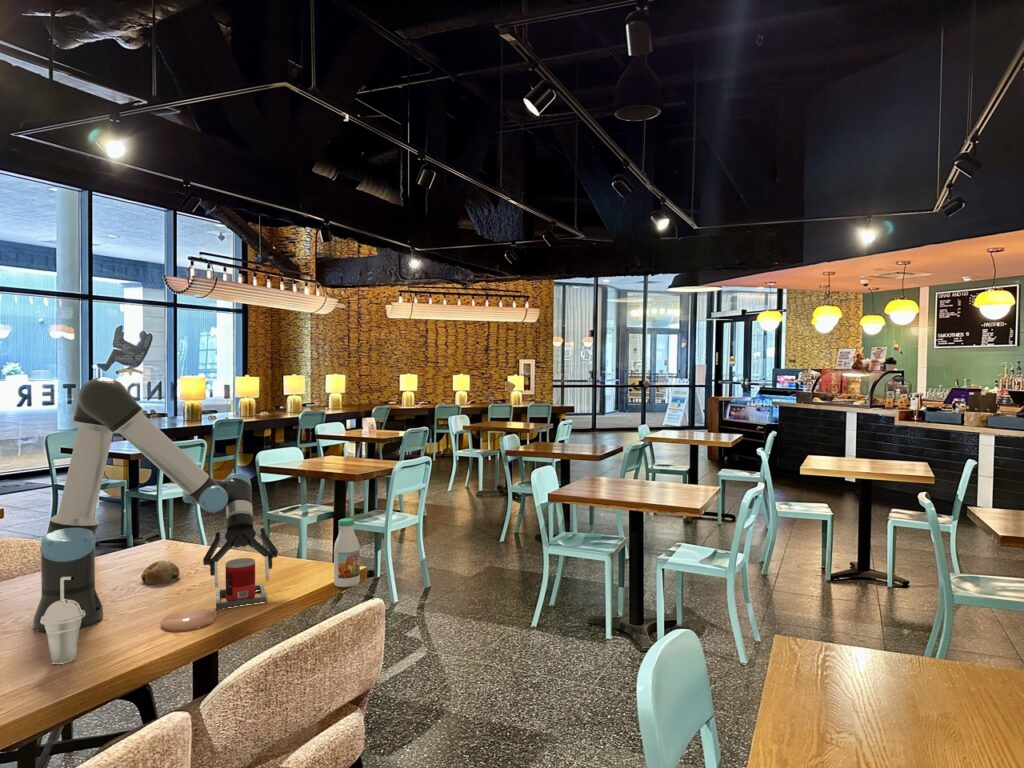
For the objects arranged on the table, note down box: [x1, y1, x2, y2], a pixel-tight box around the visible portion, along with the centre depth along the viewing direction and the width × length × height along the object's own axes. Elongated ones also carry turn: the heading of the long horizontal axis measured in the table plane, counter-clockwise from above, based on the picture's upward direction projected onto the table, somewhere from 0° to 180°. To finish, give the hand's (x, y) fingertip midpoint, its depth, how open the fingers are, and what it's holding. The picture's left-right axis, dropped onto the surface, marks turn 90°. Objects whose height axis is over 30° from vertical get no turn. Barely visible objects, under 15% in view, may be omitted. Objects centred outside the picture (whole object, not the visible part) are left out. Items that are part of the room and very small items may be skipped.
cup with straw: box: [40, 577, 86, 664], centre depth 149 cm, size 8×9×20 cm
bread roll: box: [140, 560, 180, 586], centre depth 208 cm, size 10×10×8 cm
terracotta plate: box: [160, 608, 217, 632], centre depth 173 cm, size 13×13×1 cm
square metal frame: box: [215, 583, 267, 611], centre depth 190 cm, size 13×13×2 cm
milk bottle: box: [333, 517, 361, 588], centre depth 204 cm, size 8×8×20 cm
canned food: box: [225, 557, 256, 601], centre depth 190 cm, size 8×8×11 cm
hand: (242, 581), depth 189 cm, fingers open, 13 cm apart
